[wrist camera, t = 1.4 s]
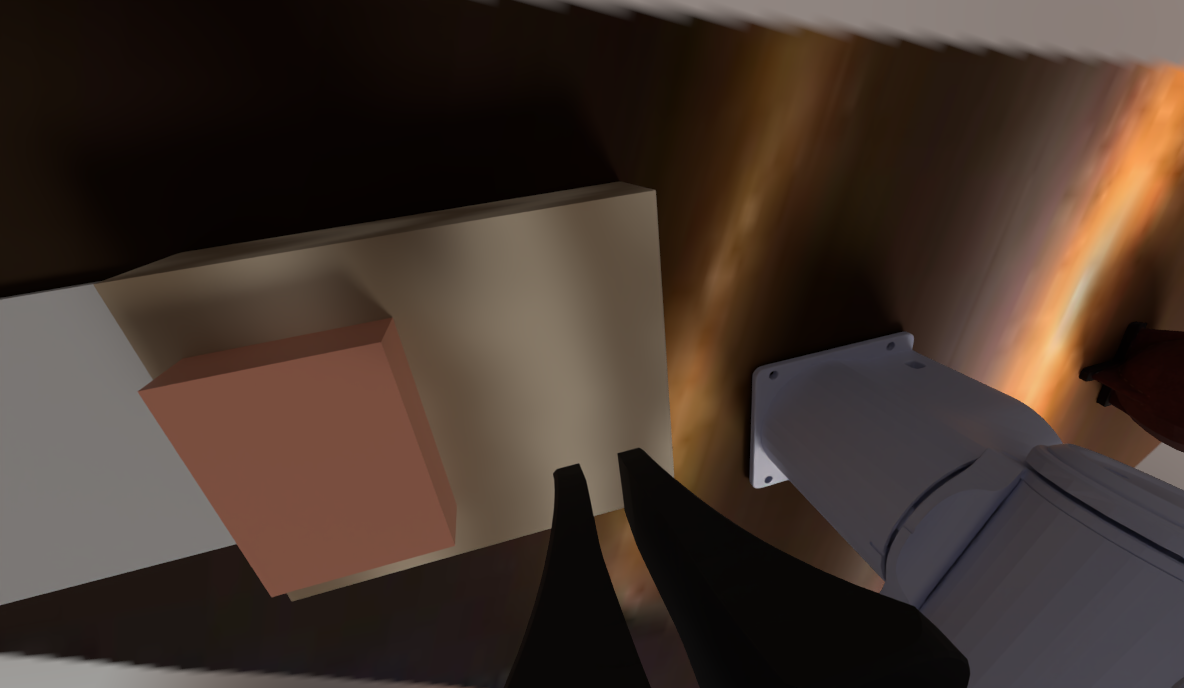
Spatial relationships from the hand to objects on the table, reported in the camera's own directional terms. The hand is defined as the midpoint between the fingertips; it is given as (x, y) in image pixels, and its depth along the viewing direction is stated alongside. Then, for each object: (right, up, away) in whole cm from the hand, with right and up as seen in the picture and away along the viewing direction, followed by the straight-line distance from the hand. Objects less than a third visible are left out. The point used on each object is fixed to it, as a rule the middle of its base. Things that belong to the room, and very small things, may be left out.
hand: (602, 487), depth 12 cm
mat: (-21, 0, +5) cm, 21 cm away
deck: (-6, +3, +8) cm, 10 cm away
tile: (-9, 0, +4) cm, 10 cm away
